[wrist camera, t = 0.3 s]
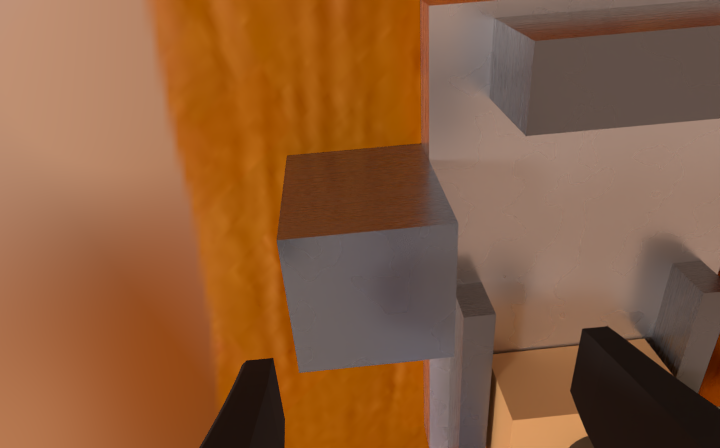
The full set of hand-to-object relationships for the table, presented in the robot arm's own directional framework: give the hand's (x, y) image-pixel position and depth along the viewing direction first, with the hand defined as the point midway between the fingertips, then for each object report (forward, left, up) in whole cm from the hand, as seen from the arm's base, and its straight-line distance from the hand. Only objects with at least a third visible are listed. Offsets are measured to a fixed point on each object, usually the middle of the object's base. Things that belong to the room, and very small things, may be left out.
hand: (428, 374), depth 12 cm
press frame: (-3, -7, -10) cm, 13 cm away
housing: (-1, +1, -10) cm, 10 cm away
